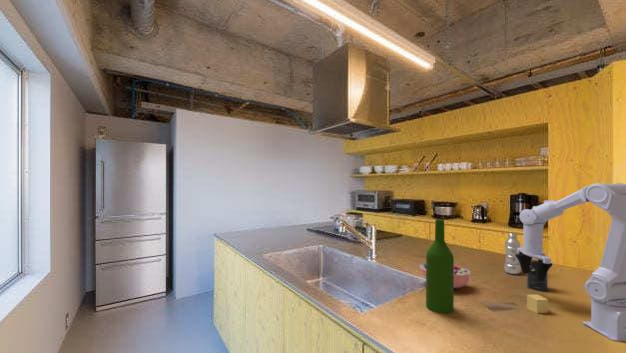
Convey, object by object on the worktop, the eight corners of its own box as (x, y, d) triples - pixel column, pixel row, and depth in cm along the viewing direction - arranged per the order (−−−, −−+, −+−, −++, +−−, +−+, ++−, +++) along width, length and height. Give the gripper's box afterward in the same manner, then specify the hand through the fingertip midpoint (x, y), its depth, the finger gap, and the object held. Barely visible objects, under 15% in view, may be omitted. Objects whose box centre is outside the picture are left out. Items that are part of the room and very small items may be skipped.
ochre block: (547, 317, 92) (547, 299, 92) (537, 317, 92) (537, 300, 92) (537, 311, 96) (537, 294, 96) (526, 311, 96) (526, 294, 96)
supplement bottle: (526, 285, 119) (526, 258, 119) (547, 289, 115) (547, 261, 115) (526, 290, 114) (526, 262, 114) (548, 295, 109) (548, 265, 109)
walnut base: (538, 323, 88) (538, 319, 88) (500, 322, 89) (500, 318, 89) (514, 306, 100) (514, 302, 100) (480, 304, 101) (480, 301, 101)
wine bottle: (439, 302, 103) (439, 217, 103) (459, 314, 94) (459, 221, 94) (420, 306, 99) (420, 218, 99) (440, 318, 91) (440, 222, 91)
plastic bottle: (501, 272, 135) (501, 232, 135) (509, 270, 138) (509, 231, 138) (515, 276, 130) (515, 235, 130) (523, 274, 132) (523, 233, 132)
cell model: (475, 299, 106) (475, 270, 106) (420, 292, 112) (420, 264, 112) (466, 283, 122) (466, 258, 122) (418, 277, 128) (418, 253, 128)
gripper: (560, 246, 95) (559, 284, 95) (530, 236, 110) (529, 270, 110) (538, 245, 96) (538, 283, 96) (511, 236, 110) (511, 269, 110)
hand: (532, 276), depth 103 cm, fingers open, 7 cm apart
